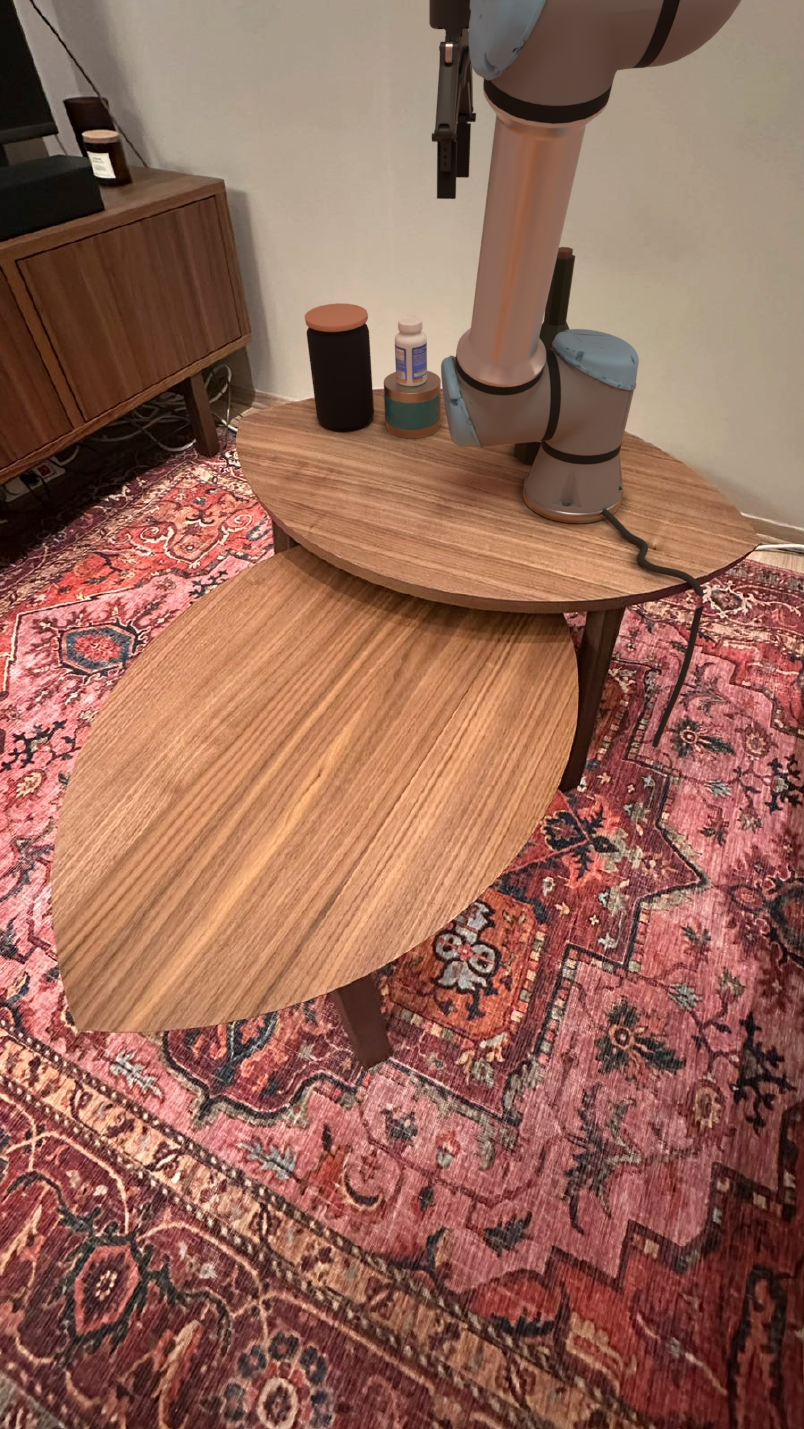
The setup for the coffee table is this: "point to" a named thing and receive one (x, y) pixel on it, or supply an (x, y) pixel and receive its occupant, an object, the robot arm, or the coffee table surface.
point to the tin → (412, 407)
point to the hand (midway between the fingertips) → (453, 187)
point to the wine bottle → (552, 327)
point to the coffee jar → (340, 366)
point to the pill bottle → (410, 352)
